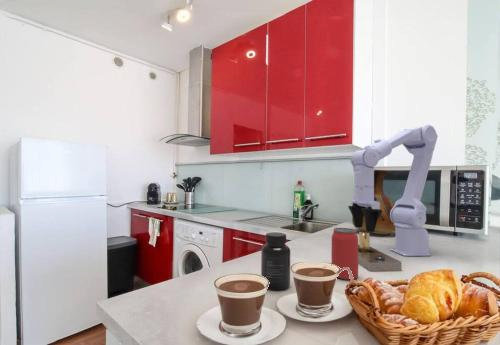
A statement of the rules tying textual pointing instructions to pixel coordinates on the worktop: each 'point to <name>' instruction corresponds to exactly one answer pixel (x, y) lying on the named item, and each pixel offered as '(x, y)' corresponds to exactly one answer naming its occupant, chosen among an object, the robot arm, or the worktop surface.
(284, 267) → the supplement bottle
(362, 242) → the brass pin
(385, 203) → the ceramic pitcher
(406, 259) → the worktop surface
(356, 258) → the beer can
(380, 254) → the door strike plate
